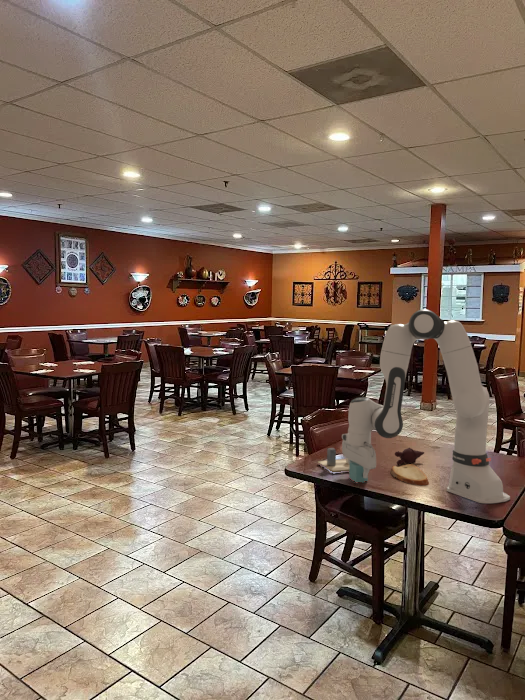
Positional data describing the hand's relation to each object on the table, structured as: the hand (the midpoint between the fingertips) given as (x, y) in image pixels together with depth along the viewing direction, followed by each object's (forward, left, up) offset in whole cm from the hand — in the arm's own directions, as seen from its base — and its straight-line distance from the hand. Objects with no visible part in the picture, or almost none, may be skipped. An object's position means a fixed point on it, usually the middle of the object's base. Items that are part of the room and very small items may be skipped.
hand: (358, 474), depth 213 cm
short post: (+17, -6, -1) cm, 18 cm away
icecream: (+13, -33, -3) cm, 36 cm away
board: (+17, -2, -2) cm, 17 cm away
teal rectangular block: (0, 0, -2) cm, 3 cm away
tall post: (+17, +3, -1) cm, 17 cm away
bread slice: (-2, -23, -3) cm, 23 cm away
